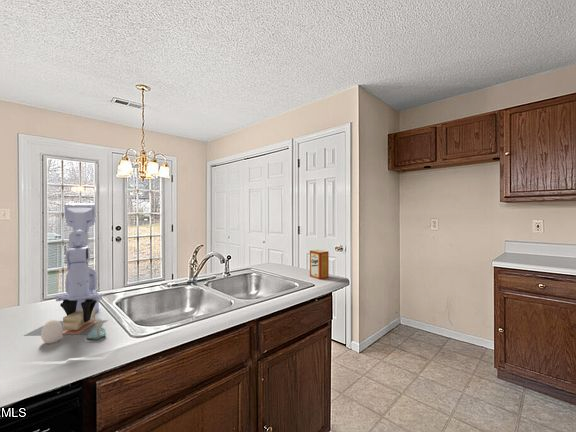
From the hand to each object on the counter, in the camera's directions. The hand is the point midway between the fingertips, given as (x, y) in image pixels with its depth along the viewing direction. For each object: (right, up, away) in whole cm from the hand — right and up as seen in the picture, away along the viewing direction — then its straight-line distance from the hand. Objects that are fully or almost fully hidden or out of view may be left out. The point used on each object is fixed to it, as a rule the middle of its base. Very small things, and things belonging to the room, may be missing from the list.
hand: (79, 321), depth 100 cm
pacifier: (+10, -3, -7) cm, 13 cm away
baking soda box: (+90, 0, +73) cm, 116 cm away
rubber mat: (-4, -3, 0) cm, 5 cm away
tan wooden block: (0, -1, 0) cm, 1 cm away
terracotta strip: (0, -2, 0) cm, 2 cm away
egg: (-1, -3, -10) cm, 11 cm away
